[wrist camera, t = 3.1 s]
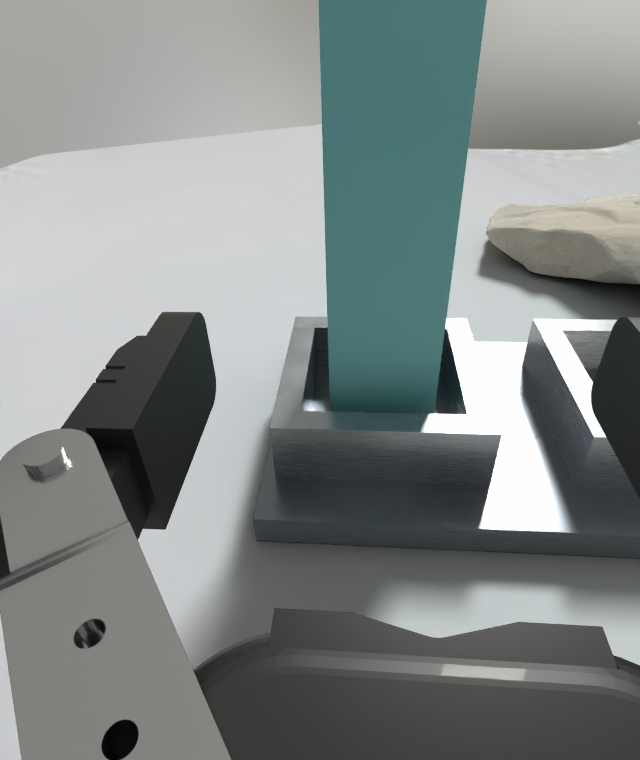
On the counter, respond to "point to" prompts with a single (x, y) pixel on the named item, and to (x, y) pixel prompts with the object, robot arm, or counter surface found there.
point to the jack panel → (454, 453)
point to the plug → (393, 190)
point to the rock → (574, 238)
